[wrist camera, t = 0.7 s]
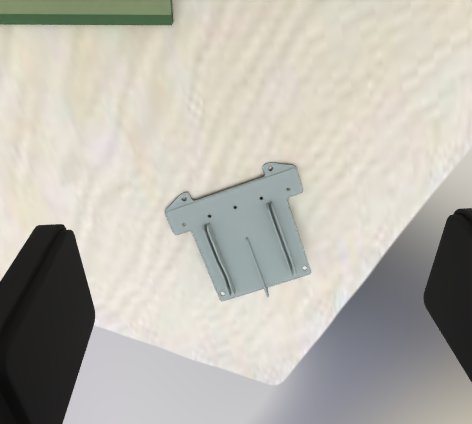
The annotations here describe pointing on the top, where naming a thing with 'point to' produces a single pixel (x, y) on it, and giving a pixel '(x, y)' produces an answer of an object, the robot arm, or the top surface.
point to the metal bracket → (246, 232)
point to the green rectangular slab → (86, 12)
